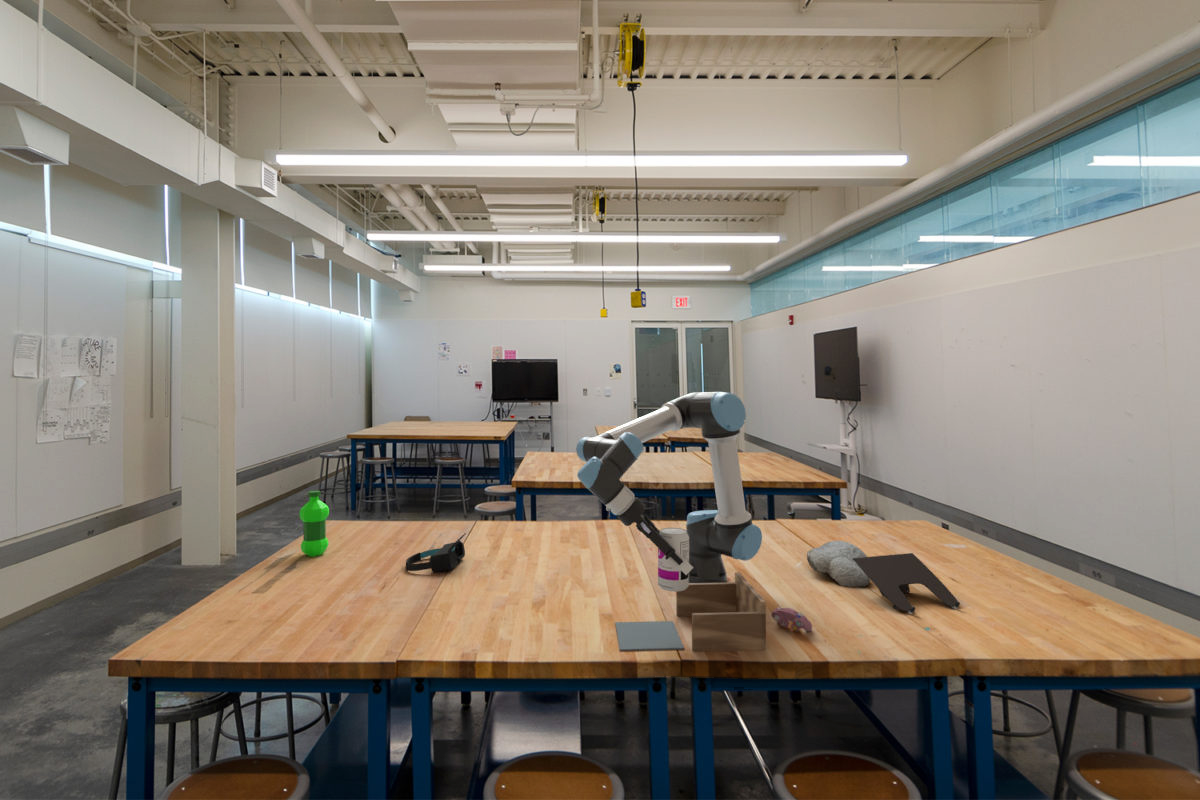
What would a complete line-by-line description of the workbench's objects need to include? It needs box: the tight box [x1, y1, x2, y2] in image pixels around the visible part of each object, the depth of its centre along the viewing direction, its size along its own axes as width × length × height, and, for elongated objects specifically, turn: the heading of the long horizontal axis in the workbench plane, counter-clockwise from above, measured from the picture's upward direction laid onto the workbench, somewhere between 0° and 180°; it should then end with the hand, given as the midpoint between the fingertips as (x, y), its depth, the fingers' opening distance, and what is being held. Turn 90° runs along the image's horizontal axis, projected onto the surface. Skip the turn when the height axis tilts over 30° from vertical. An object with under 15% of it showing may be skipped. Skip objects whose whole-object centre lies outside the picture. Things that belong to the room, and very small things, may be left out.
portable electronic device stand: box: [853, 552, 961, 615], centre depth 171 cm, size 23×23×9 cm
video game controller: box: [770, 606, 813, 632], centre depth 149 cm, size 10×5×7 cm, turn 46°
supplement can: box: [657, 527, 689, 593], centre depth 147 cm, size 8×8×15 cm
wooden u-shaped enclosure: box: [675, 571, 767, 652], centre depth 148 cm, size 22×18×12 cm
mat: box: [614, 620, 685, 652], centre depth 145 cm, size 16×16×1 cm
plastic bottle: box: [298, 490, 330, 557], centre depth 218 cm, size 10×10×25 cm
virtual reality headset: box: [405, 532, 467, 573], centre depth 204 cm, size 19×22×10 cm
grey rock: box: [806, 540, 870, 588], centre depth 195 cm, size 28×21×9 cm
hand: (685, 565), depth 147 cm, fingers closed on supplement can, 8 cm apart
